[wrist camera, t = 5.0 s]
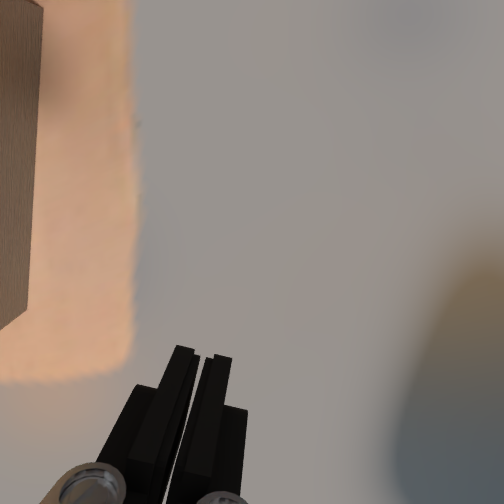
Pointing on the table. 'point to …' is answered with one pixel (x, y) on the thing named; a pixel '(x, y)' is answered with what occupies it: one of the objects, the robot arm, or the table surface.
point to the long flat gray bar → (17, 147)
